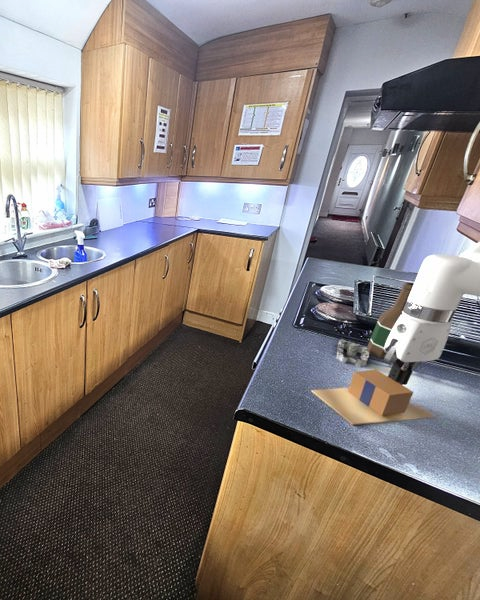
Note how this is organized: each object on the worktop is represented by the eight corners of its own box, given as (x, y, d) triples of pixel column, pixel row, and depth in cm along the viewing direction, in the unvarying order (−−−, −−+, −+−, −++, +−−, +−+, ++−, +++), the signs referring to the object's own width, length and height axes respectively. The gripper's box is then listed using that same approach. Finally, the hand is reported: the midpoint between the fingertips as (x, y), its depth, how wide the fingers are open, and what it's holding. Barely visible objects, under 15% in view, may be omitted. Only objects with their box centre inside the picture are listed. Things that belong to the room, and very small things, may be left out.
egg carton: (364, 371, 93) (369, 359, 91) (332, 361, 98) (336, 350, 96) (366, 355, 100) (371, 344, 99) (337, 347, 105) (341, 336, 103)
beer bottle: (368, 347, 105) (396, 277, 96) (400, 357, 100) (433, 284, 90) (362, 356, 101) (391, 283, 91) (395, 367, 95) (430, 291, 86)
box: (375, 369, 82) (353, 372, 81) (413, 391, 74) (389, 395, 73) (368, 388, 84) (347, 391, 84) (404, 412, 76) (381, 416, 76)
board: (385, 385, 87) (386, 384, 87) (436, 418, 76) (436, 416, 76) (311, 391, 84) (311, 390, 84) (352, 425, 73) (353, 423, 73)
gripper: (415, 320, 67) (384, 393, 74) (478, 317, 69) (441, 388, 76) (380, 306, 74) (354, 374, 81) (437, 303, 76) (407, 370, 82)
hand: (396, 381), depth 78 cm, fingers closed
